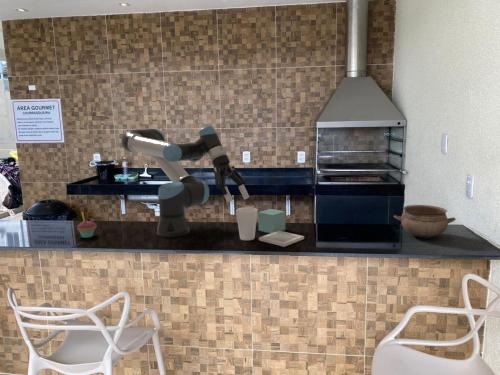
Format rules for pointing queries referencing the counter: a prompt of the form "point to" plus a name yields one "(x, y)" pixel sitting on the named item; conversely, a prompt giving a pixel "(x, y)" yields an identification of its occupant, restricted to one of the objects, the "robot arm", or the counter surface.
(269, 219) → the block
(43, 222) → the counter surface
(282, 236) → the mat
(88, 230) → the cupcake
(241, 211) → the foam cup
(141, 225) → the counter surface
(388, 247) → the counter surface
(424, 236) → the cooking pot
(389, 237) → the counter surface
